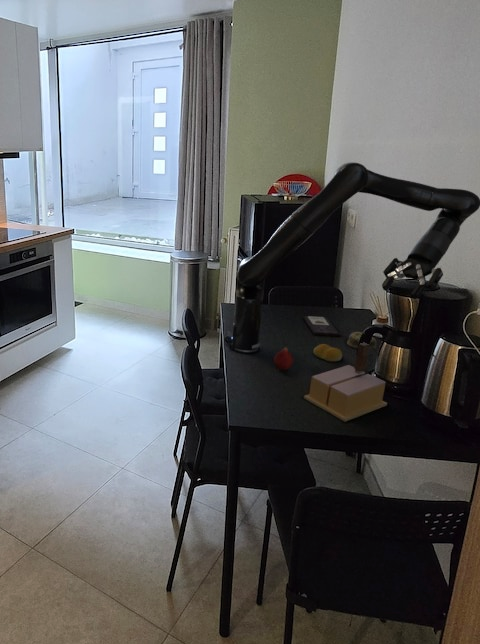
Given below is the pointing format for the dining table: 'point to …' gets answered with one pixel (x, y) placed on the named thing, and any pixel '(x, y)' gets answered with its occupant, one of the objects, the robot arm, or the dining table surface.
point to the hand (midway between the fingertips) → (398, 293)
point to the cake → (346, 393)
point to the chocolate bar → (321, 326)
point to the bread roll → (328, 353)
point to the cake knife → (361, 359)
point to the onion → (283, 359)
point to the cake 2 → (355, 339)
